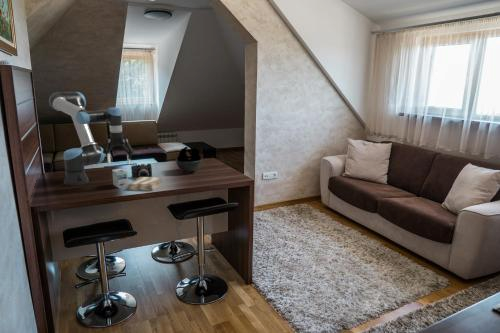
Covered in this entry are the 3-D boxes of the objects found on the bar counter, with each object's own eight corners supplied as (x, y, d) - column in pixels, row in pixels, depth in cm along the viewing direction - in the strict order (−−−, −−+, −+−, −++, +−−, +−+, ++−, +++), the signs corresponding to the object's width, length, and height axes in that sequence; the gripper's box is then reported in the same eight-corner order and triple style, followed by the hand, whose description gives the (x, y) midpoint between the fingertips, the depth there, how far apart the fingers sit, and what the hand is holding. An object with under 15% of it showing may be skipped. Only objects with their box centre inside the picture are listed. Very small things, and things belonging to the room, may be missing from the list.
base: (128, 189, 220) (128, 183, 219) (139, 182, 238) (139, 176, 237) (152, 190, 219) (152, 184, 218) (161, 182, 236) (161, 177, 235)
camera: (132, 180, 240) (131, 167, 238) (131, 177, 250) (130, 163, 248) (153, 179, 245) (152, 165, 243) (151, 175, 255) (151, 162, 253)
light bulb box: (128, 186, 227) (127, 171, 224) (118, 188, 223) (117, 172, 220) (122, 183, 235) (121, 168, 232) (112, 184, 230) (111, 169, 228)
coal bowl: (199, 175, 257) (199, 150, 252) (173, 174, 257) (172, 150, 252) (203, 168, 276) (203, 146, 272) (179, 168, 276) (178, 145, 272)
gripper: (94, 132, 217) (98, 164, 222) (132, 132, 215) (135, 165, 220) (100, 130, 224) (103, 162, 229) (137, 131, 223) (139, 162, 227)
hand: (119, 163), depth 225 cm, fingers open, 13 cm apart
